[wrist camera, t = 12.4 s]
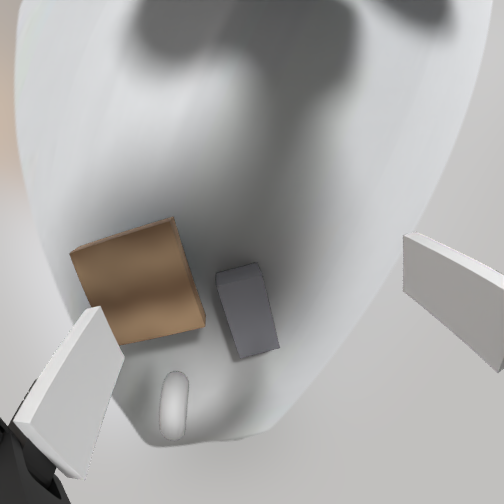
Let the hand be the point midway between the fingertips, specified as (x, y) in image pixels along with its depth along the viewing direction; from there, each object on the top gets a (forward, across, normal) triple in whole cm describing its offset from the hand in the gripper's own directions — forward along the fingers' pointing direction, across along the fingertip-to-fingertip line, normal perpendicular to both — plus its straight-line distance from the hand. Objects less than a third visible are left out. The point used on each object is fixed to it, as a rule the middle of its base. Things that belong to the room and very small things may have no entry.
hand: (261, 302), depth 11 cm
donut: (+22, -14, -22) cm, 35 cm away
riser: (+22, -1, -12) cm, 26 cm away
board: (+18, -11, -4) cm, 21 cm away
